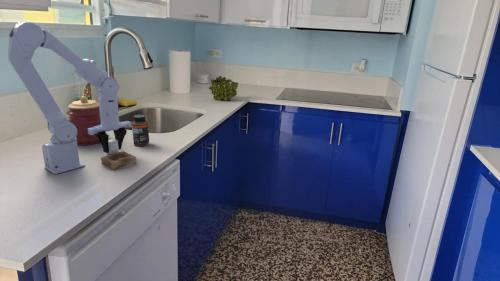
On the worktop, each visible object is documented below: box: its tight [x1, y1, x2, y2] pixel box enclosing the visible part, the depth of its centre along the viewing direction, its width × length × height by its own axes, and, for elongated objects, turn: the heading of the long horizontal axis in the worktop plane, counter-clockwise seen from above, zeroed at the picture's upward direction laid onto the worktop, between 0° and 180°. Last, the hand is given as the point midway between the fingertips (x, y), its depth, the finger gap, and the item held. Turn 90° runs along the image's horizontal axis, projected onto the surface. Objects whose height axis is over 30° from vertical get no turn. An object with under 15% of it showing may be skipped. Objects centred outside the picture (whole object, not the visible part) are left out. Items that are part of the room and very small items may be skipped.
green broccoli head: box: [209, 75, 239, 101], centre depth 217 cm, size 18×16×16 cm
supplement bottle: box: [131, 114, 150, 147], centre depth 131 cm, size 6×6×11 cm
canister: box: [66, 95, 107, 146], centre depth 132 cm, size 13×13×18 cm
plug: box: [106, 138, 120, 155], centre depth 118 cm, size 4×4×5 cm
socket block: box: [100, 150, 137, 171], centre depth 113 cm, size 8×8×3 cm
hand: (112, 150), depth 118 cm, fingers closed on plug, 4 cm apart
